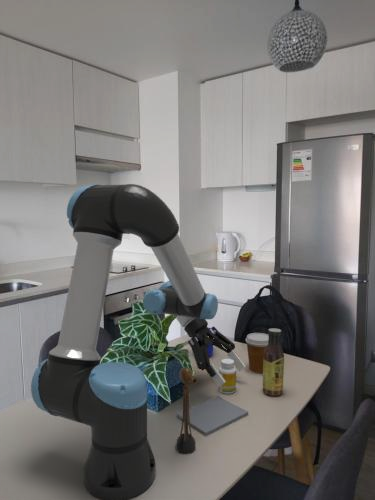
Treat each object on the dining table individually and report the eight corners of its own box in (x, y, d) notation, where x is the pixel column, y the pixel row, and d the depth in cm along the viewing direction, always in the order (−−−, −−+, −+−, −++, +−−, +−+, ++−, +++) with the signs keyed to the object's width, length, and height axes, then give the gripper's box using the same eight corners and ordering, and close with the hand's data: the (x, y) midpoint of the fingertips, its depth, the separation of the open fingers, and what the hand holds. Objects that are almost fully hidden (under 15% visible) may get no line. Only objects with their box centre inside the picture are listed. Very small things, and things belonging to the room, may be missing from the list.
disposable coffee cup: (239, 366, 142) (240, 334, 141) (261, 362, 146) (262, 331, 145) (255, 377, 134) (255, 342, 132) (277, 372, 138) (278, 338, 136)
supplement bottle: (215, 389, 125) (215, 360, 124) (227, 384, 128) (227, 356, 127) (227, 396, 120) (227, 365, 119) (239, 390, 124) (239, 361, 123)
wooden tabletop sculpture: (202, 451, 93) (202, 370, 91) (186, 458, 91) (186, 374, 88) (188, 439, 98) (188, 361, 96) (172, 445, 95) (172, 366, 93)
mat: (205, 435, 99) (205, 432, 99) (176, 416, 109) (176, 413, 109) (248, 414, 110) (248, 411, 110) (217, 398, 119) (217, 396, 119)
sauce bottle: (277, 399, 119) (279, 334, 116) (258, 393, 122) (260, 330, 120) (286, 391, 124) (288, 329, 122) (268, 385, 127) (269, 325, 125)
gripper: (205, 319, 141) (242, 368, 135) (162, 338, 121) (204, 398, 114) (218, 306, 138) (257, 357, 131) (177, 324, 117) (220, 385, 111)
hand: (232, 376), depth 123 cm, fingers open, 13 cm apart
